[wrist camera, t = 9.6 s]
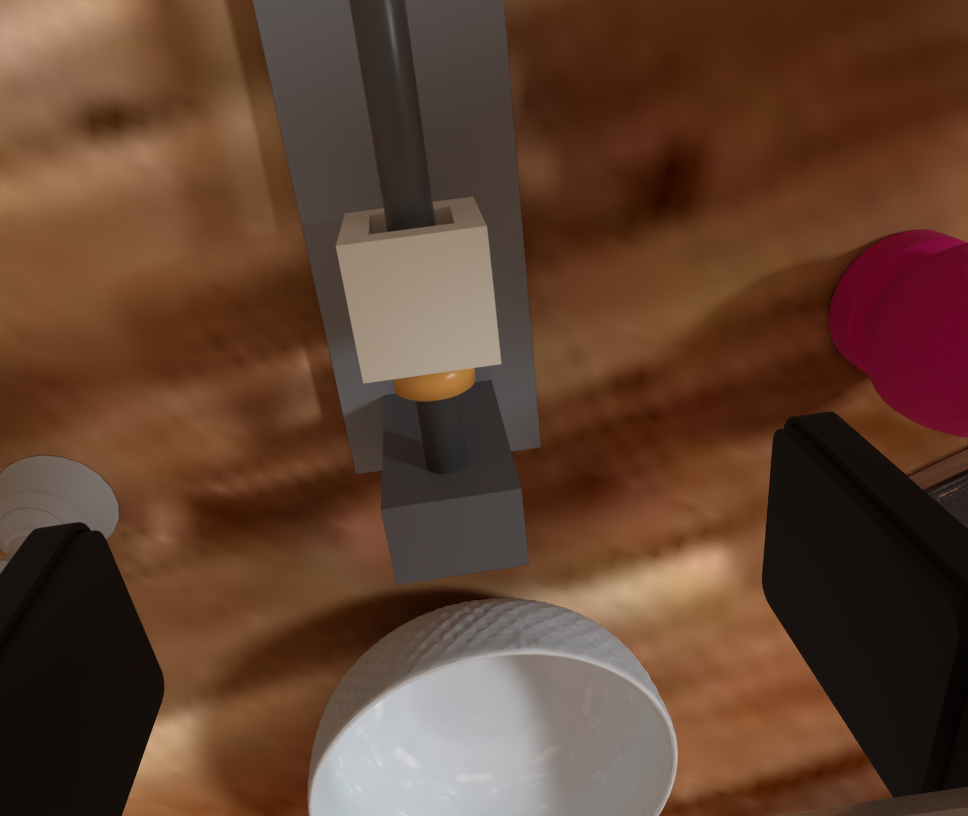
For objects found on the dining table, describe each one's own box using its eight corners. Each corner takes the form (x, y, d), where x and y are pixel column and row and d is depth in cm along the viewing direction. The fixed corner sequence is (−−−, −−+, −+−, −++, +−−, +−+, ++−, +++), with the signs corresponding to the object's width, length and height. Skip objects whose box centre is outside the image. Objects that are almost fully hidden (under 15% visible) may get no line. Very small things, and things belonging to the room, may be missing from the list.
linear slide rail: (460, -465, 20) (504, -800, 12) (536, 435, 33) (583, 568, 25) (163, -438, 20) (1, -765, 12) (357, 462, 33) (344, 604, 25)
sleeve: (473, 196, 23) (487, 226, 20) (486, 317, 25) (501, 364, 22) (344, 213, 23) (335, 246, 20) (367, 333, 25) (363, 383, 21)
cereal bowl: (548, 807, 45) (573, 934, 39) (276, 750, 40) (254, 883, 34) (695, 598, 39) (753, 709, 32) (393, 503, 34) (393, 610, 28)
